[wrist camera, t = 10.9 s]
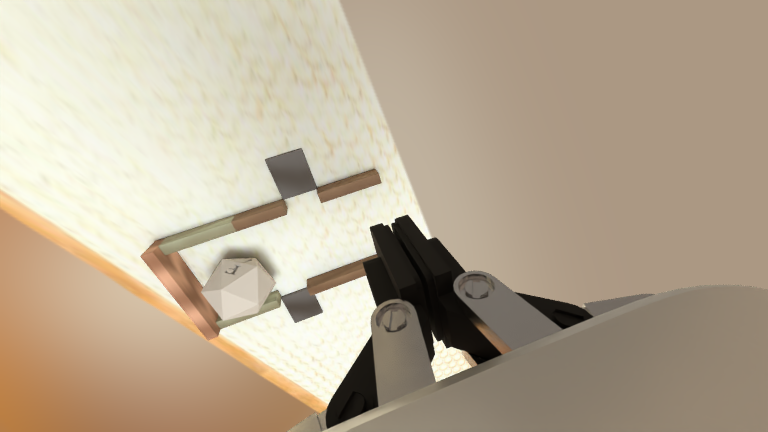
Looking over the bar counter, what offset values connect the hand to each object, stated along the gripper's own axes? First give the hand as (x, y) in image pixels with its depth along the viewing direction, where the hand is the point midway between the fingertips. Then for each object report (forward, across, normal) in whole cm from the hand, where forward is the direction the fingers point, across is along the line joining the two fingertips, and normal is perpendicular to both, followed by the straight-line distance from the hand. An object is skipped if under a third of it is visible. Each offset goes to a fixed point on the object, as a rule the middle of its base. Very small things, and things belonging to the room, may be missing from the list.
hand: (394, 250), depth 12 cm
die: (+31, +19, +17) cm, 40 cm away
